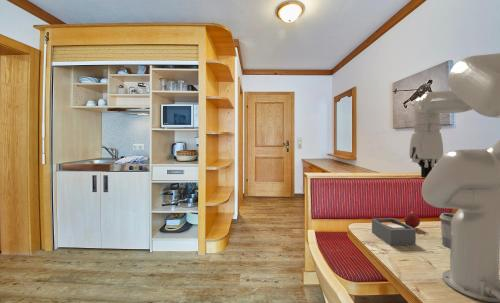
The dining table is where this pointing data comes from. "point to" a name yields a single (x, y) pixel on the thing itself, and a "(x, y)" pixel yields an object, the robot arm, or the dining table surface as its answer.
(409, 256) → the dining table surface
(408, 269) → the dining table surface
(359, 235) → the dining table surface
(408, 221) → the onion
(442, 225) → the cup
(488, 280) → the robot arm
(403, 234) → the switch box
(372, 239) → the dining table surface
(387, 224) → the rocker
